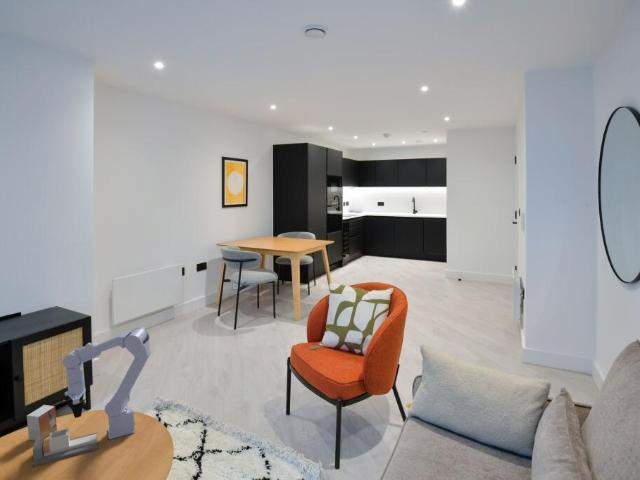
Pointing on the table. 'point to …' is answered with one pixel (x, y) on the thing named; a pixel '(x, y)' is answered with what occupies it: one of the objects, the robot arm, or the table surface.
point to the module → (59, 440)
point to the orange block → (46, 446)
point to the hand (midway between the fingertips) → (78, 412)
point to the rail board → (74, 448)
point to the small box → (41, 422)
